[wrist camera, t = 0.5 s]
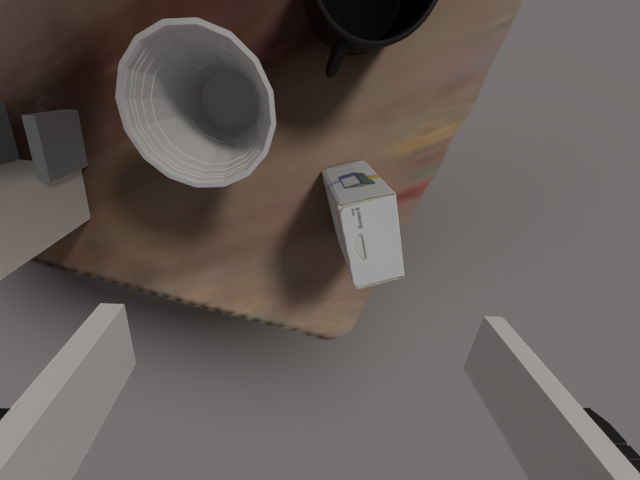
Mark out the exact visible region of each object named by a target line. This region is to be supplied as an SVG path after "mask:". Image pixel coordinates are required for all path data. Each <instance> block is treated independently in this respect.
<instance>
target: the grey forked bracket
mask: <svg viewBox="0 0 640 480" xmlns="http://www.w3.org/2000/svg"><path fill="white" fill-rule="evenodd" d="M21 116H22V120H23V124H24V128H25V132H26V136H27V140H28V144H29V148H30V152H31V156H32V159H33V161H30V160H20V157H19V154H18V150H17V146H16V143H15V139H14V135H13V131H12V128H11V124H10V120H9V117H8V113H7V109H6V106H5V102H2V101H0V280H1V279H3V278H4V277H6V276H7V275H9V274H10V273H12V272H13V271H15V270H16V269H17V268H19V267H20V266H22V265H23V264H25V263H26V262H28V261H29V260H31V259H32V258H34V257H35V256H36V255H38V254H39V253H41V252H42V251H44V250H45V249H47V248H48V247H50V246H51V245H53V244H54V243H55V242H57V241H58V240H60V239H61V238H63V237H64V236H66V235H67V234H69V233H70V232H71V231H73V230H74V229H76V228H77V227H79V226H80V225H82V224H83V223H85V222H86V221H88V220H89V219H90V218H91V217H90V212H89V207H88V202H87V197H86V191H85V186H84V181H83V176H82V171H81V169H82V168H85V167H87V166H88V162H87V157H86V151H85V146H84V140H83V135H82V129H81V124H80V118H79V113H78V110H72V109H63V110H55V111H47V112H40V113H32V114H24V115H21Z"/></svg>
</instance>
